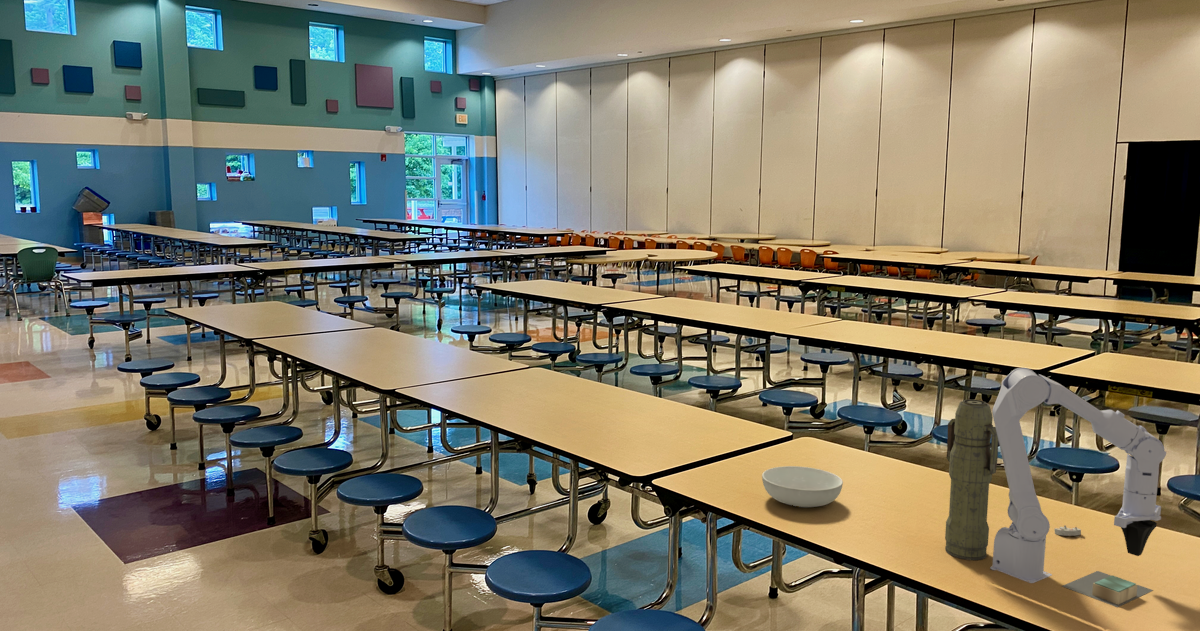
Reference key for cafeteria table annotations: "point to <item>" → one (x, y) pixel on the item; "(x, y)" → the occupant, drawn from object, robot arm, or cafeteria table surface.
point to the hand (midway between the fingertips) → (1134, 553)
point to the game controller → (1068, 531)
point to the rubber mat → (1086, 582)
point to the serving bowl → (802, 485)
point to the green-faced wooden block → (1114, 589)
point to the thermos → (970, 479)
